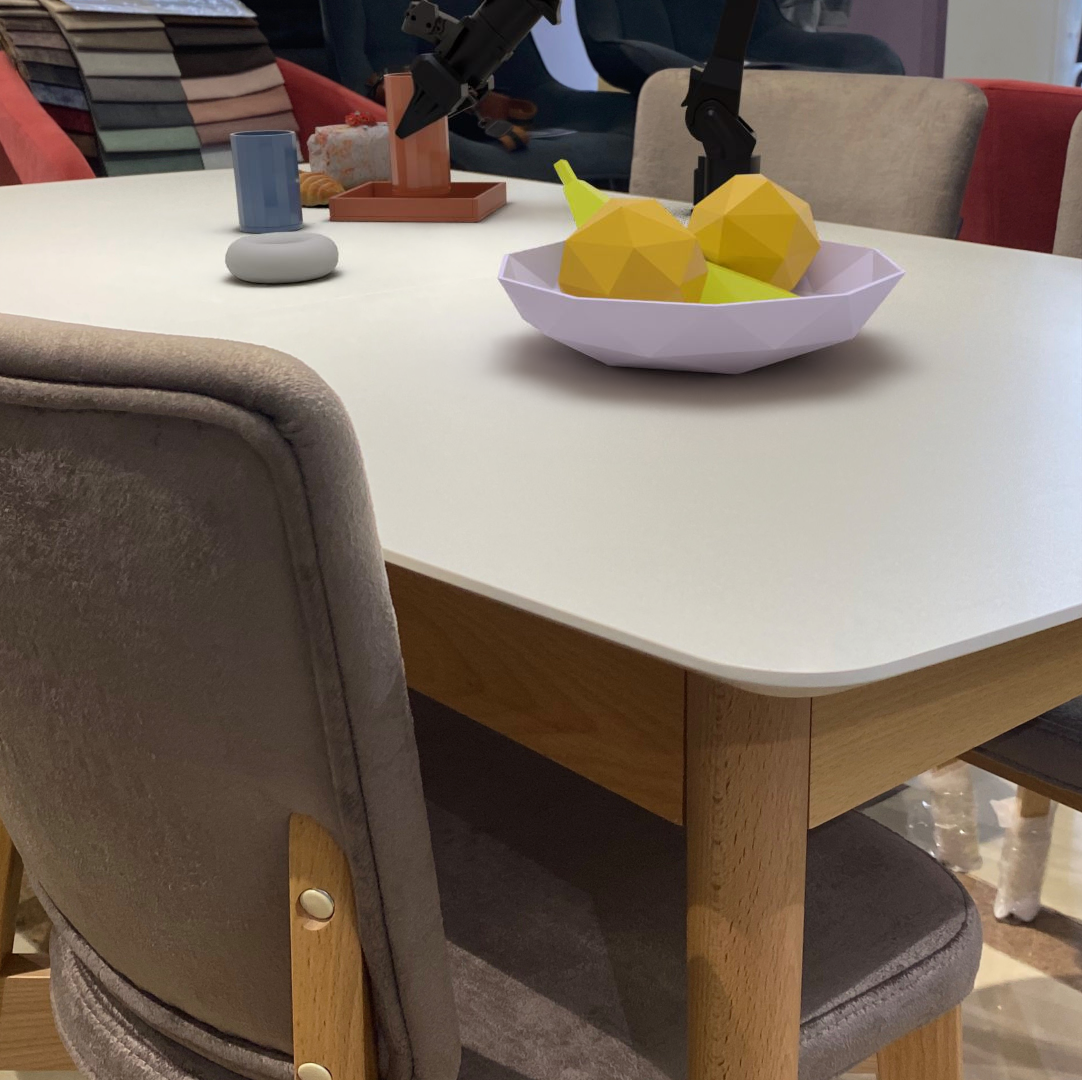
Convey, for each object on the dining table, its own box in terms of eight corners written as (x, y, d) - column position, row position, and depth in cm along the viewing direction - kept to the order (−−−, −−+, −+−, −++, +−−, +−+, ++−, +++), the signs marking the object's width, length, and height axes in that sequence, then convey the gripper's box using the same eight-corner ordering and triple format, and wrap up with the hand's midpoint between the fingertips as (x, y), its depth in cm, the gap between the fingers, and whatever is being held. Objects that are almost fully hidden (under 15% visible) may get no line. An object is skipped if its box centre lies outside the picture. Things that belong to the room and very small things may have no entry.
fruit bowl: (977, 377, 80) (998, 188, 76) (558, 421, 73) (555, 217, 69) (775, 292, 105) (783, 146, 101) (448, 319, 98) (441, 164, 94)
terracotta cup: (455, 194, 149) (448, 74, 144) (396, 198, 147) (387, 77, 142) (446, 187, 155) (439, 71, 150) (389, 190, 154) (380, 74, 148)
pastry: (360, 203, 159) (358, 171, 158) (315, 210, 155) (312, 177, 153) (316, 197, 165) (313, 166, 164) (271, 204, 161) (267, 172, 160)
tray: (506, 203, 157) (506, 182, 156) (478, 222, 143) (477, 199, 143) (370, 202, 160) (369, 181, 159) (329, 220, 147) (328, 198, 146)
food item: (320, 196, 166) (313, 116, 163) (309, 189, 173) (302, 112, 170) (423, 189, 171) (419, 111, 167) (408, 183, 178) (403, 107, 174)
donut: (307, 291, 110) (359, 267, 119) (303, 250, 109) (356, 229, 117) (205, 285, 113) (263, 263, 122) (200, 245, 112) (259, 225, 121)
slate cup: (315, 225, 143) (308, 131, 140) (274, 235, 138) (265, 136, 134) (269, 222, 147) (260, 129, 143) (226, 231, 141) (216, 135, 137)
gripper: (462, -26, 150) (377, 77, 156) (422, -30, 133) (328, 86, 139) (531, 46, 152) (444, 145, 158) (501, 51, 135) (404, 162, 141)
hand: (406, 133), depth 149 cm, fingers closed on terracotta cup, 7 cm apart
